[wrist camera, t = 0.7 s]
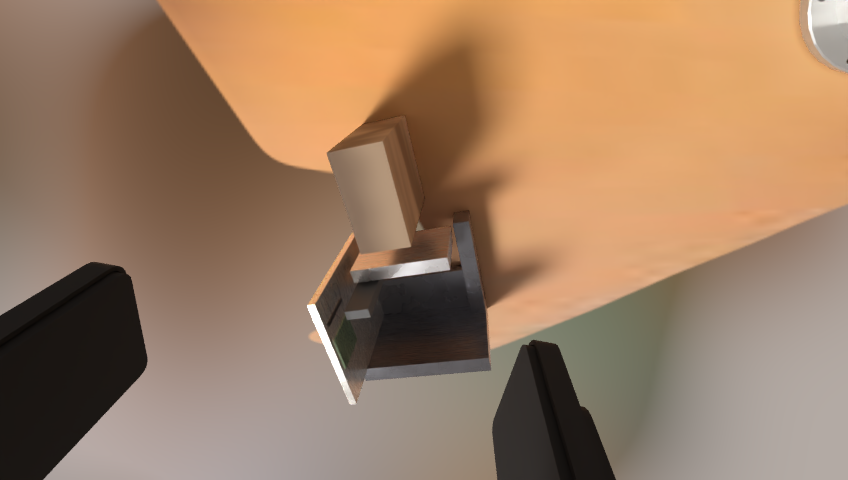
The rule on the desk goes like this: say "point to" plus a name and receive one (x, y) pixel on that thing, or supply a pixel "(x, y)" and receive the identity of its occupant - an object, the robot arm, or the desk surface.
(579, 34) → the desk surface
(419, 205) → the push block
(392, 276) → the plate
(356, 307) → the dark flat plank
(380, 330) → the stand
